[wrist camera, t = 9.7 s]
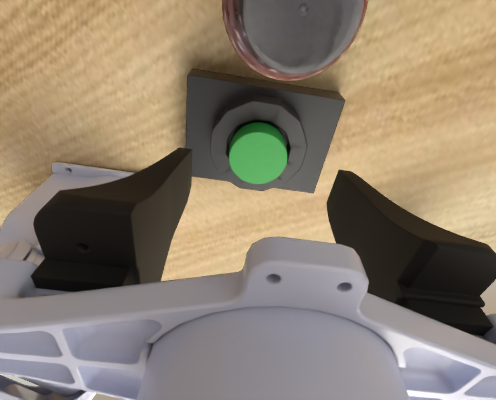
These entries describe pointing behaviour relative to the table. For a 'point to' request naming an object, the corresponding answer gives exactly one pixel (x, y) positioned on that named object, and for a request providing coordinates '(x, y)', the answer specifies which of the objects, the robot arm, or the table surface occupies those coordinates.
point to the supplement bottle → (292, 34)
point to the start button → (258, 153)
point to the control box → (259, 110)
